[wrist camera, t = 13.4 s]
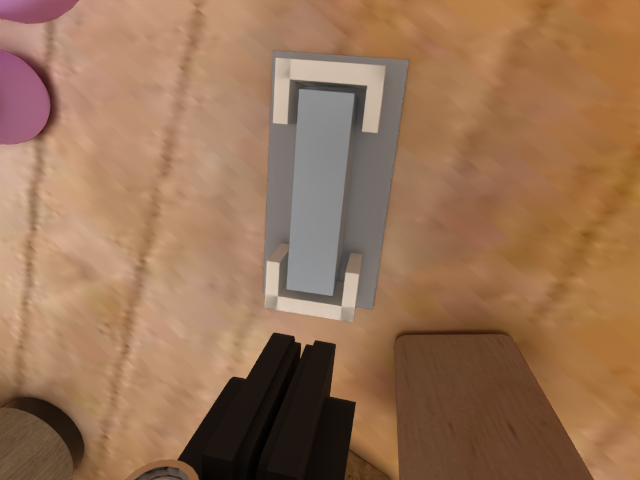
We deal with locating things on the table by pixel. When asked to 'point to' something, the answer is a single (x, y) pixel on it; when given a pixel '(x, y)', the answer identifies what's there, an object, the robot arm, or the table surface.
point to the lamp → (37, 442)
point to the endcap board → (365, 183)
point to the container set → (24, 74)
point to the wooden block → (476, 413)
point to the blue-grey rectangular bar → (320, 188)
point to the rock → (362, 469)
